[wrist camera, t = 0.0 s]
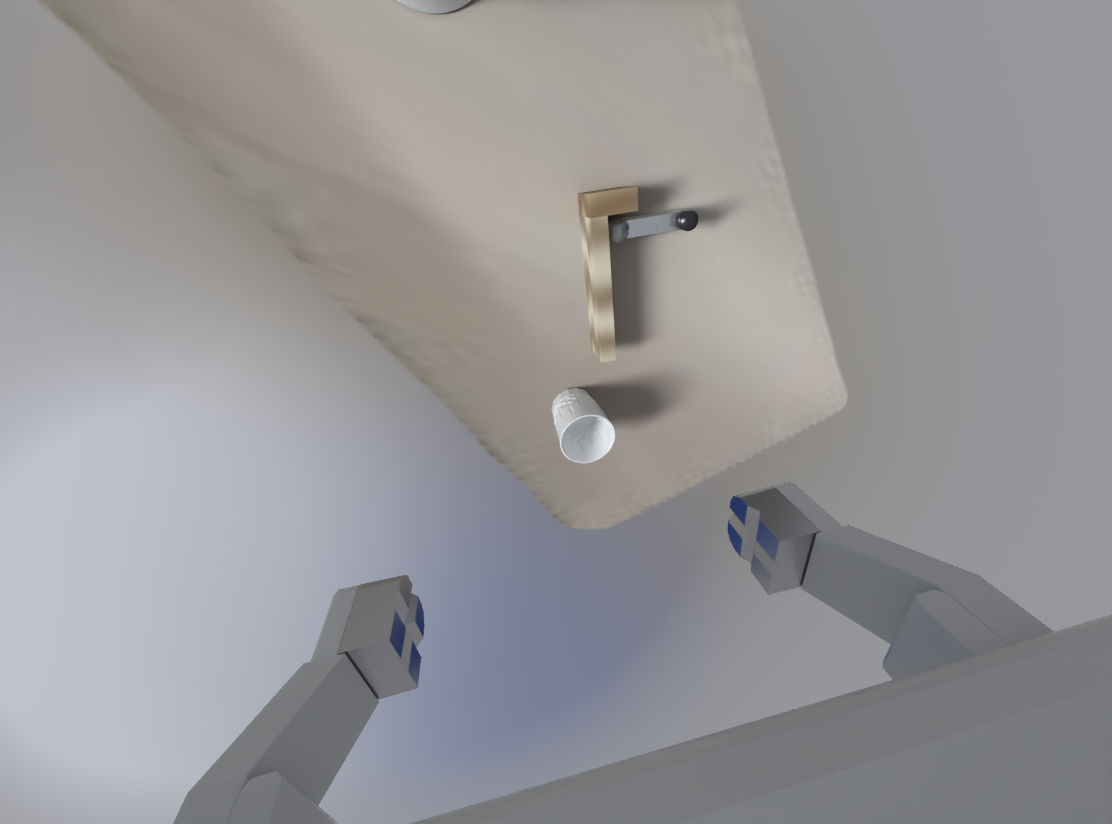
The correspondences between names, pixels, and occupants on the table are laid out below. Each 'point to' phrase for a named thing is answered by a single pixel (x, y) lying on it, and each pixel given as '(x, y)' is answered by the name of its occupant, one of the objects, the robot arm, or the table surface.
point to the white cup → (582, 426)
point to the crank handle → (651, 224)
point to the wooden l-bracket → (601, 261)
